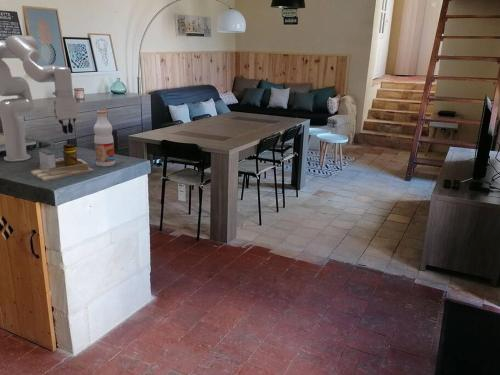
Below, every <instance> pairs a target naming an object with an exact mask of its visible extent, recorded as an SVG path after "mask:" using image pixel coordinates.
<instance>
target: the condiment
mask: <svg viewBox="0 0 500 375" xmlns="http://www.w3.org/2000/svg"><path fill="white" fill-rule="evenodd" d="M62 147H63V150H62V154H63V160H64V166H65V167H67V166H73V165H78V164H77V159H78V154H77V150H76V144H74V143H66V144H63V146H62ZM59 168H61V167H59Z"/></svg>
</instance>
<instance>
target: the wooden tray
mask: <svg viewBox="0 0 500 375" xmlns="http://www.w3.org/2000/svg"><path fill="white" fill-rule="evenodd" d="M77 164H78V165H73V166H67V167H65V166H64V159H62V160H61V159H60V160H57V161H56V160H55V166H56V168H55V169H49V170H50V175H49V174H47V173H45V172H43V171H42V170H41V163H39V168H38V169H32V170H30V174H31V175H33V176H35V177H37V178H39V179H40V180H42V181H43V182H45V181H51V180H55V179H56V180H57V179H62V178H66V177H67V178H68V177H73V176H77V175H83V174H84V175H85V174H90V173H94V172H95V170H94V169H93V168H91V167H90V166H89V163H87V161H86V162H85V161H83V160H81V159H79V158H77ZM59 167H61V168H59Z"/></svg>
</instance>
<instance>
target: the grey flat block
mask: <svg viewBox="0 0 500 375" xmlns="http://www.w3.org/2000/svg"><path fill="white" fill-rule="evenodd" d="M38 155H39V162H40V163H39V164H41V170H42V171H43V172H45V173H47V174H49V175H50V170H49V169H55V168H56V166H55V161H56V159H55V154H54V152H53V151H51V150H48V149H46V148H43V149H39V152H38Z"/></svg>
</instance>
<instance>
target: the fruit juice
mask: <svg viewBox="0 0 500 375" xmlns="http://www.w3.org/2000/svg"><path fill="white" fill-rule="evenodd" d="M96 115H97V119H96V122H95V124H94V126H93V131H94V139H93V141H94V152H95V164H96V166H98V167H112V166H114V165H115V163H116V158H115V146H114V145H115V143H114V135H113V134H112V133H113V126H112V124H111V123H110V121H109V119H108V117H107V115H108V111H107V110H97V111H96Z"/></svg>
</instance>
